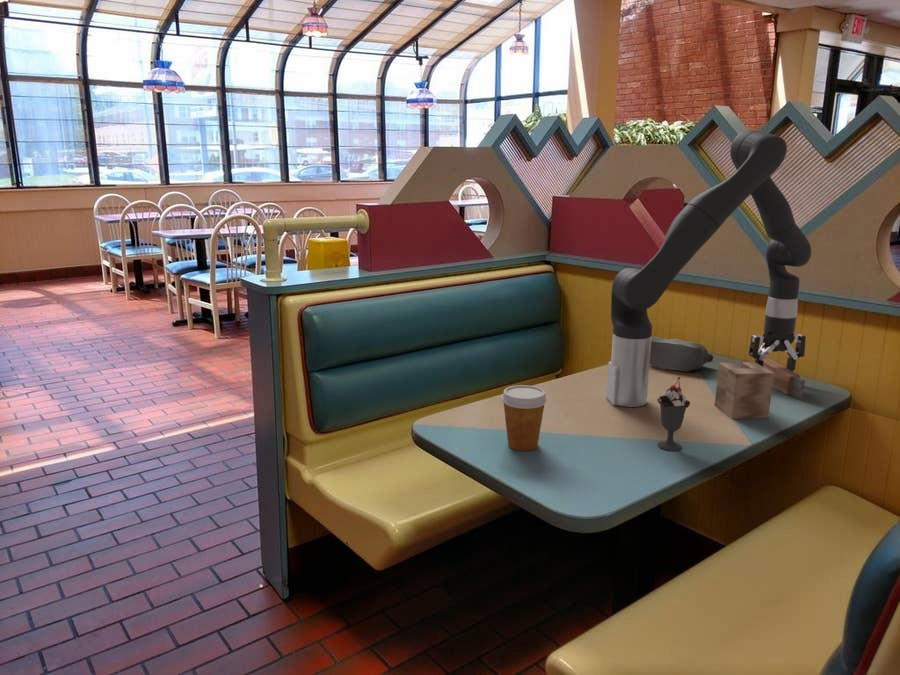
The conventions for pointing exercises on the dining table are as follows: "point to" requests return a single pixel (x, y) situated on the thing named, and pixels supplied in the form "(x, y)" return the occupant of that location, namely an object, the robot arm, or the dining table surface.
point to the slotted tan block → (744, 390)
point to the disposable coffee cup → (523, 415)
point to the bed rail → (785, 379)
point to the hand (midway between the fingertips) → (774, 372)
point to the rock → (678, 354)
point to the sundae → (672, 415)
